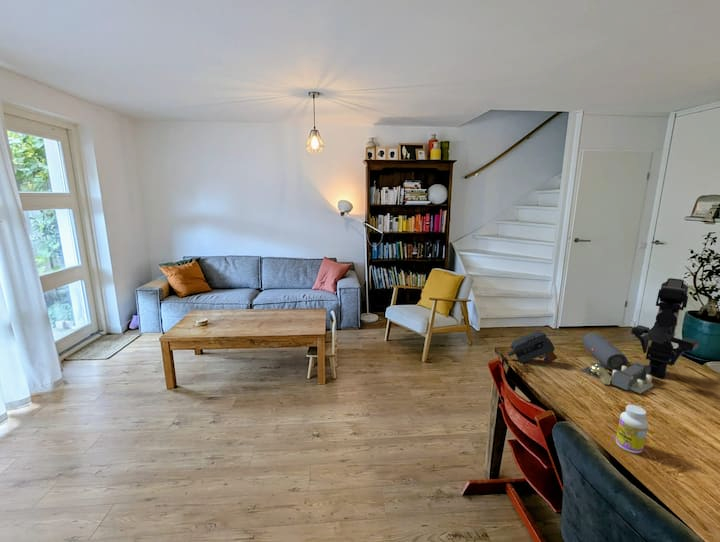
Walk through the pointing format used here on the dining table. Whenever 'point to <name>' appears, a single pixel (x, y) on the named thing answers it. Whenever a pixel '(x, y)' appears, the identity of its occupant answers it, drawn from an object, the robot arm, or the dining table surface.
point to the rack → (638, 382)
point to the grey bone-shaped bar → (630, 375)
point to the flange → (592, 373)
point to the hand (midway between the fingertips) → (659, 357)
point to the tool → (533, 347)
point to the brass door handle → (600, 372)
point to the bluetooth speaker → (604, 352)
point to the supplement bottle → (632, 429)
